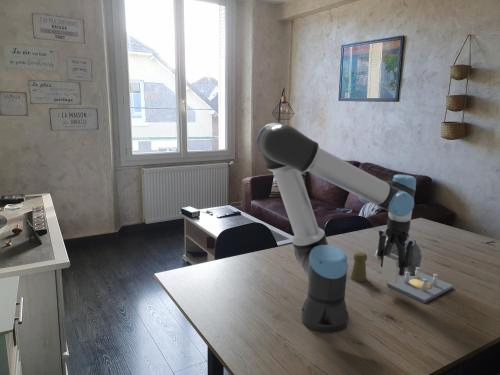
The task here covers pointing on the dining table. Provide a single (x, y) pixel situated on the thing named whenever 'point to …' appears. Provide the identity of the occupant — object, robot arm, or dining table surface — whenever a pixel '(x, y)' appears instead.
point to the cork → (359, 267)
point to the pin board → (421, 286)
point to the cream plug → (389, 268)
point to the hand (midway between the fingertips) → (390, 279)
